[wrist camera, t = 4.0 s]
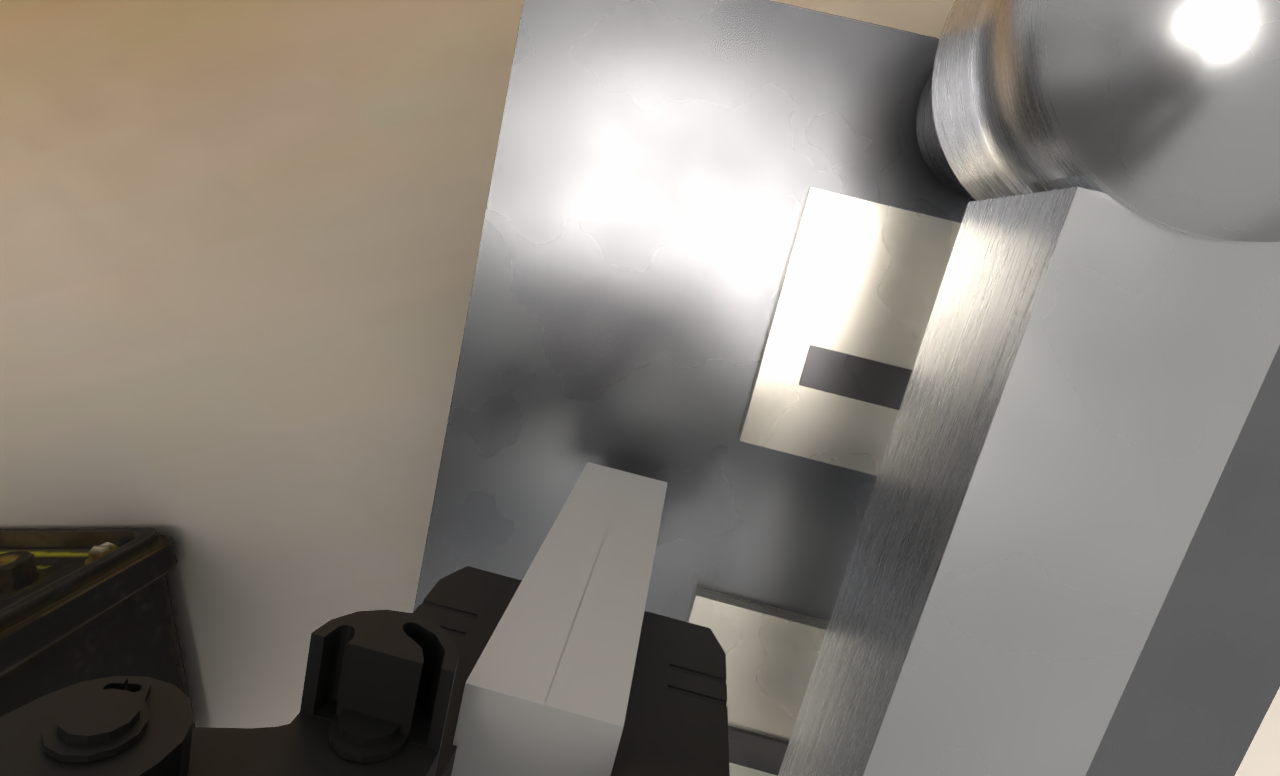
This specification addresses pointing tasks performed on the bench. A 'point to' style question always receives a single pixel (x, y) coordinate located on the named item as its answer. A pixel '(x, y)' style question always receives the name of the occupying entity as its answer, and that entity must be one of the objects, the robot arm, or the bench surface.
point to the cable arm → (1059, 384)
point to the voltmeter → (84, 610)
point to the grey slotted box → (768, 352)
